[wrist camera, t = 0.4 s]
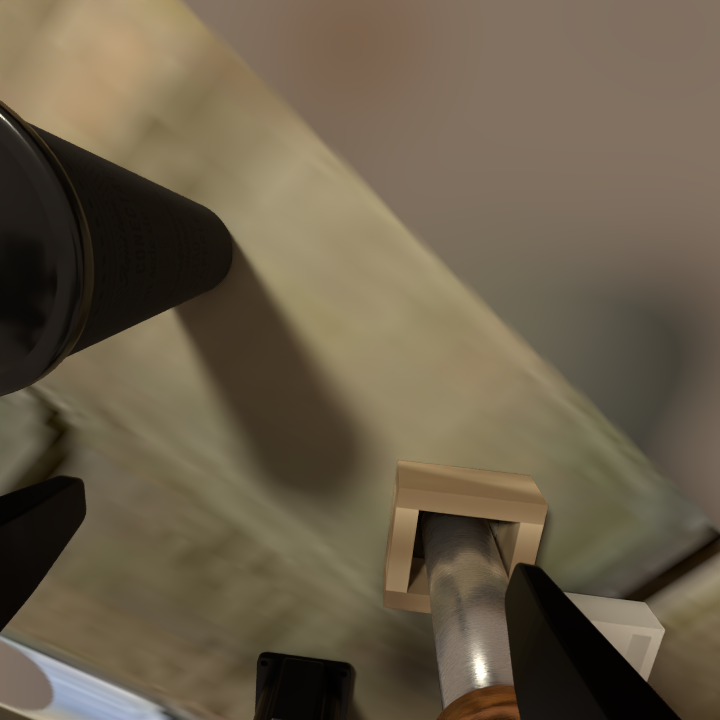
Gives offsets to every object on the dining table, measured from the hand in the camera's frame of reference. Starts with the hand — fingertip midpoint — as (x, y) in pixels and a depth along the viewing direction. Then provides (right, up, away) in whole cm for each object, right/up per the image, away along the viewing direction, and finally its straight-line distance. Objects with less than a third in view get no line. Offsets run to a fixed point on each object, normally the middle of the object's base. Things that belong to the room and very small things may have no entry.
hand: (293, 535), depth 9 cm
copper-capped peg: (+7, -7, +18) cm, 20 cm away
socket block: (+7, -7, +18) cm, 20 cm away
